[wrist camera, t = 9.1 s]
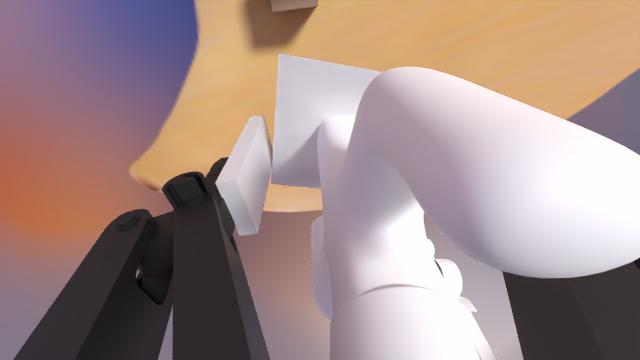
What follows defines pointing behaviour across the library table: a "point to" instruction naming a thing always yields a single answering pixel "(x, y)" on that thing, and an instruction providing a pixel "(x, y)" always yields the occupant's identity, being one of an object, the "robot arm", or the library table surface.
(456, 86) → the figurine
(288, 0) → the walnut block
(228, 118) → the library table surface
